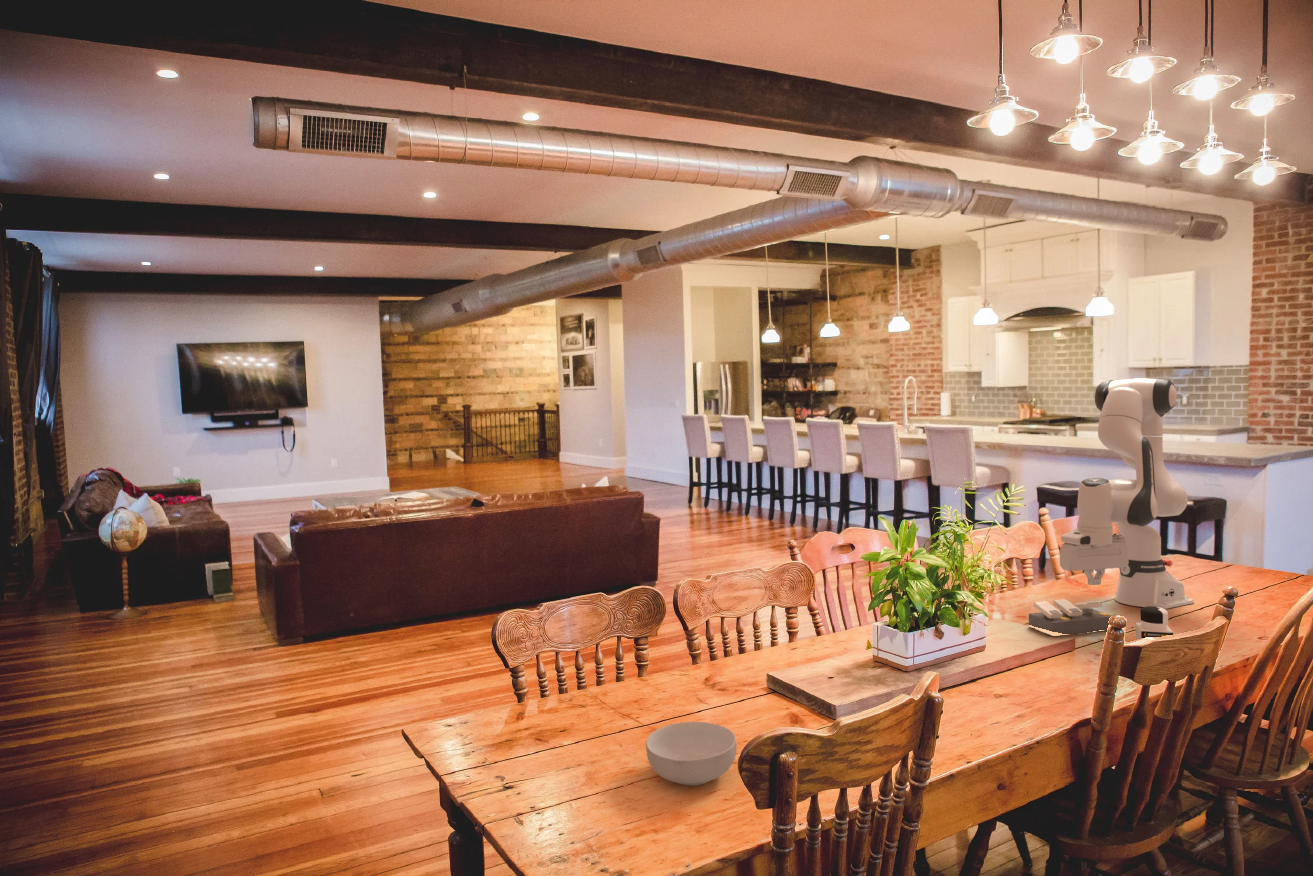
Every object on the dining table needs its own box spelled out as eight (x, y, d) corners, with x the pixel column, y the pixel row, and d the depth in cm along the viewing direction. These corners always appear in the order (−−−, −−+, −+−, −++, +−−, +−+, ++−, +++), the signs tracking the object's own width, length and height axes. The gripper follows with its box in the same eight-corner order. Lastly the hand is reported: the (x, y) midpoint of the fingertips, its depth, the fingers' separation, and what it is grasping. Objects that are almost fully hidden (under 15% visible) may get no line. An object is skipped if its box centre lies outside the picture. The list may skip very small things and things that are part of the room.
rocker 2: (1064, 602, 236) (1065, 598, 236) (1081, 615, 230) (1082, 611, 229) (1053, 604, 235) (1053, 599, 235) (1069, 616, 229) (1070, 612, 228)
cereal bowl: (680, 748, 163) (679, 714, 162) (753, 769, 153) (752, 732, 153) (628, 783, 149) (627, 745, 149) (705, 807, 139) (704, 767, 139)
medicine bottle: (1141, 657, 207) (1141, 610, 207) (1135, 648, 214) (1135, 603, 213) (1173, 659, 205) (1173, 612, 204) (1166, 650, 212) (1166, 605, 211)
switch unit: (1087, 620, 240) (1087, 603, 240) (1113, 630, 230) (1113, 612, 230) (1028, 627, 236) (1028, 609, 235) (1052, 637, 226) (1052, 618, 226)
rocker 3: (1084, 607, 238) (1084, 602, 238) (1102, 606, 231) (1101, 602, 231) (1073, 608, 237) (1072, 604, 237) (1090, 608, 230) (1089, 603, 230)
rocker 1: (1045, 604, 235) (1046, 600, 234) (1062, 617, 228) (1063, 613, 228) (1033, 606, 234) (1034, 601, 234) (1049, 618, 227) (1050, 614, 227)
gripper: (1117, 532, 235) (1116, 580, 236) (1056, 536, 231) (1055, 584, 231) (1134, 536, 229) (1134, 584, 230) (1072, 539, 224) (1071, 589, 225)
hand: (1094, 584), depth 230 cm, fingers closed
